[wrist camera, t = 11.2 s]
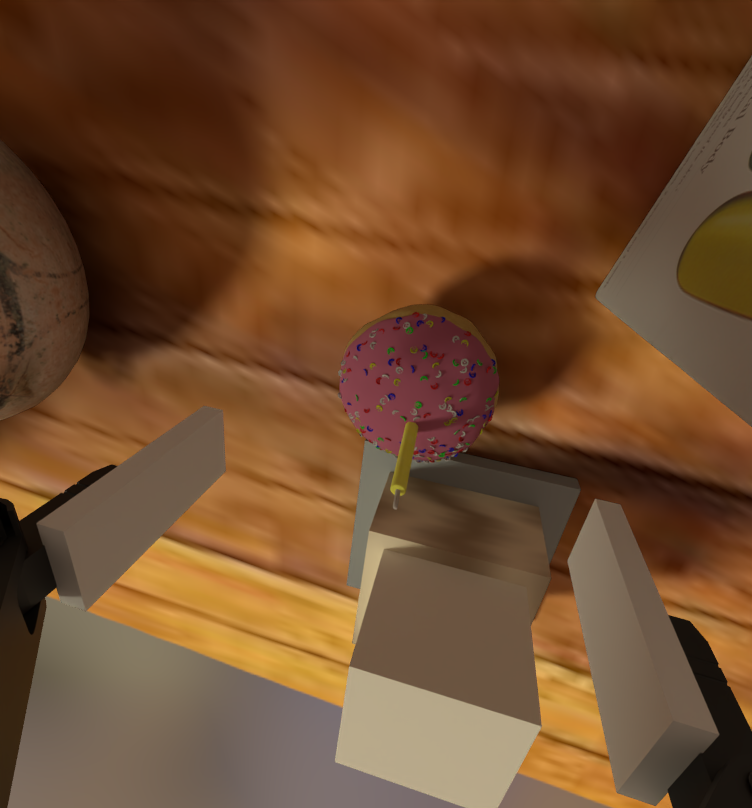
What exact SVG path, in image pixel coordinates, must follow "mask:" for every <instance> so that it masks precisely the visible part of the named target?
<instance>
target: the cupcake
mask: <svg viewBox="0 0 752 808" xmlns="http://www.w3.org/2000/svg"><path fill="white" fill-rule="evenodd" d="M341 365H342V366H341V370H339V376H340V393H338V396H339V398H341V399H342V402H343V405H344V407H345V412H347V414H348V416H349V418H350V419H351V421H352V423H353V424H354V426H355V427H356V428H357V429H356V430H357V432H358V433H360V436H361V437H362V435H363V436H364V437H365V438H366V439H367V440H368V441H369V442H370V443H372V444H373V445H374V446H375V447H376V448H377V449H379V450H383V451H384V452H386V453H391V454H393V456H394V457H395V458H397V463H396V467H395V471H394V475H393V479H392V483H391V488H390V490H391V492H392V493H393V494H394V495H395V497H394V502H393V508H394V509H395V510H396V509H397V508H398V503H399V498H400V496H402V495H404V494H405V492H406V488H407V483H408V478H409V473H410V468H411V463H412V459H413V460H415V462H416V463H421V462H423V461H424V462H425V463H429V461H430V462H432V463H434V462H435V461H434V460H436V461H437V462H439V461H441V460H442V459H443V458H445V461H449V460H450V459H451V456H452V457H453V456H454V457H456V456H458V453H459V452H461V451H463V452H466V451H467V450H468V448H469V447H470V446H471V445H472V443H473V442H474V441H475V440H476V438H477V437H478V436H479V434H482V430H483V429H484V428H485V426H486V425H487V423H488V422H489V421H491V419H492V415H493V413H494V410H495V407H496V405H497V402H498V396H499V375H498V371H497V361H496V357H495V354H494V353H493V351H492V349H491V348H490V346H489V345H488V344H487V342H486V341H485V340H484V338H483V337H482V335H481V334H480V332H479V331H478V329H477V328H476V327H475V326H474V325H473V324H472V323H471V322H470V321H469V320H468V319H466V318H464V317H462V316H460V315H457V314H455V313H453V312H451V311H449V310H447V309H444V308H442V307H439V306H436V305H430V304H419V305H411V306H407V307H403V308H400V309H397V310H394V311H392V312H390V313H388V314H386V315H384V316H382V317H380V318H378V319H376V320H374V321H372V322H369V323H367V324H365V325H364V326H363V327H362V328H361V329H360V330H359V331H358V332H357V333H356V334H355V335H354V336H353V337H352V339H351V340H350V341H349V343H348V345H347V347H346V349H345V352H344V357H343V361H342V362H341ZM340 373H341V375H340ZM465 449H466V450H465ZM446 458H447V459H448V460H447V459H446ZM417 460H418V462H417ZM426 461H427V462H426Z"/></svg>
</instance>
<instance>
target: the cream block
mask: <svg viewBox="0 0 752 808" xmlns="http://www.w3.org/2000/svg"><path fill="white" fill-rule="evenodd" d="M541 727H542V725H541V716H540V707H539V697H538V688H537V679H536V670H535V661H534V651H533V642H532V633H531V624H530V615H529V605H528V596H527V587H525V586H521V585H517V584H514V583H510V582H506V581H502V580H499V579H495V578H491V577H487V576H484V575H480V574H476V573H472V572H469V571H465V570H461V569H457V568H454V567H450V566H446V565H442V564H439V563H435V562H431V561H427V560H424V559H420V558H416V557H412V556H409V555H405V554H401V553H397V552H394V551H390V550H386V549H384V550H383V553H382V557H381V560H380V563H379V567H378V570H377V574H376V577H375V580H374V584H373V587H372V591H371V594H370V598H369V601H368V604H367V608H366V611H365V615H364V618H363V621H362V625H361V628H360V632H359V635H358V638H357V642H356V645H355V649H354V652H353V656H352V659H351V662H350V666H349V672H348V678H347V685H346V692H345V698H344V705H343V711H342V718H341V725H340V732H339V738H338V744H337V751H336V757H335V762H337V763H340V764H342V765H345V766H348V767H351V768H354V769H357V770H360V771H362V772H365V773H368V774H371V775H374V776H377V777H380V778H383V779H385V780H388V781H391V782H394V783H397V784H400V785H402V786H405V787H408V788H411V789H414V790H417V791H420V792H423V793H425V794H428V795H431V796H434V797H437V798H440V799H443V800H445V801H448V802H451V803H454V804H457V805H460V806H462V807H465V808H498V806H499V804H500V803H501V801H502V799H503V797H504V795H505V793H506V792H507V790H508V788H509V786H510V784H511V782H512V781H513V779H514V777H515V775H516V773H517V771H518V769H519V768H520V766H521V764H522V762H523V760H524V758H525V756H526V755H527V753H528V751H529V749H530V747H531V745H532V743H533V742H534V740H535V738H536V736H537V734H538V732H539V731H540V729H541Z"/></svg>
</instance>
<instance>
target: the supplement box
mask: <svg viewBox="0 0 752 808" xmlns="http://www.w3.org/2000/svg"><path fill="white" fill-rule="evenodd" d="M595 297H596V299H597V300H598V301H599V302H600V303H602V304H603V305H604V306H606V307H607V308H608V309H609V310H610V311H611V312H612V313H613V314H615V315H616V316H617V317H618V318H619V319H621V320H622V321H623V322H624V323H626V324H627V325H628V326H629V327H630V328H632V329H633V330H634V331H635V332H636V333H638V334H639V335H640V336H641V337H642V338H644V339H645V340H646V341H647V342H649V343H650V344H651V345H652V346H654V347H655V348H656V349H657V350H659V351H660V352H661V353H662V354H664V355H665V356H666V357H667V358H669V359H670V360H671V361H672V362H674V363H675V364H676V365H677V366H678V367H680V368H681V369H682V370H683V371H684V372H686V373H687V374H688V375H689V376H690V377H692V378H693V379H694V380H695V381H696V382H698V383H699V384H700V385H701V386H702V387H704V388H705V389H706V390H707V391H708V392H710V393H711V394H712V395H713V396H715V397H716V398H717V399H718V400H719V401H721V402H722V403H723V404H724V405H726V406H727V407H728V408H729V409H731V410H732V411H733V412H734V413H735V414H737V415H738V416H739V417H740V418H742V419H743V420H744V421H745V422H746V423H748V424H749V425H750V426H751V427H752V57H751V58H750V60H749V61H748V63H747V64H746V66H745V67H744V69H743V70H742V72H741V73H740V75H739V76H738V78H737V79H736V81H735V82H734V84H733V85H732V87H731V88H730V90H729V91H728V93H727V94H726V96H725V97H724V99H723V100H722V102H721V103H720V105H719V106H718V108H717V109H716V111H715V112H714V114H713V116H712V117H711V119H710V120H709V122H708V123H707V125H706V126H705V128H704V129H703V131H702V132H701V134H700V135H699V137H698V138H697V140H696V141H695V143H694V145H693V146H692V148H691V149H690V151H689V152H688V154H687V155H686V157H685V158H684V160H683V161H682V163H681V164H680V166H679V167H678V169H677V170H676V172H675V173H674V175H673V177H672V178H671V180H670V181H669V183H668V184H667V186H666V187H665V189H664V190H663V192H662V193H661V195H660V196H659V198H658V199H657V201H656V202H655V204H654V205H653V207H652V208H651V210H650V211H649V213H648V215H647V216H646V218H645V219H644V221H643V222H642V224H641V225H640V227H639V228H638V230H637V231H636V233H635V234H634V236H633V237H632V239H631V240H630V242H629V243H628V245H627V246H626V248H625V249H624V251H623V253H622V254H621V256H620V257H619V259H618V260H617V262H616V263H615V265H614V266H613V268H612V269H611V271H610V272H609V274H608V275H607V277H606V278H605V280H604V281H603V283H602V284H601V286H600V287H599V289H598V291H597V292H596V296H595Z"/></svg>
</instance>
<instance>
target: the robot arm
mask: <svg viewBox="0 0 752 808" xmlns="http://www.w3.org/2000/svg"><path fill="white" fill-rule="evenodd" d="M225 471H226V467H225V446H224V425H223V410H220V409H216V408H211V407H207V406H203V407H202V408H200V409H199V410H197V411H196V412H195V413H193V414H192V415H190V416H189V417H187V418H186V419H185V420H183V421H182V422H180V423H179V424H177V425H176V426H175V427H173V428H172V429H170V430H169V431H167V432H166V433H165V434H163V435H162V436H160V437H159V438H157V439H156V440H155V441H153V442H152V443H150V444H149V445H147V446H146V447H145V448H143V449H142V450H140V451H139V452H137V453H136V454H135V455H133V456H132V457H130V458H129V459H127V460H126V461H125V462H123V463H122V464H120V465H119V466H115V465H109V466H107V467H104V468H101V469H99V470H96V471H94V472H92V473H90V474H89V475H87V476H86V477H84V478H83V479H81V480H80V481H78V482H77V484H76V485H75V484H74V485H72V486H71V487H69V488H68V489H66V490H65V492H64V493H60V494H59V495H58V496H56V497H55V498H53V499H52V500H50V501H49V502H47V503H46V504H44V505H43V506H41V507H40V508H38V509H37V510H35V511H34V512H32V513H31V514H29V515H28V516H26V517H25V518H23V519H22V520H20V521H19V519H18V516H17V513H16V511H15V508H14V505H13V503H12V502H10V501H9V500H7V499H2V498H0V808H7V806H8V801H9V796H10V791H11V786H12V781H13V776H14V770H15V765H16V760H17V755H18V750H19V745H20V739H21V735H22V729H23V724H24V719H25V714H26V709H27V703H28V699H29V693H30V688H31V684H32V678H33V673H34V668H35V663H36V658H37V653H38V648H39V642H40V638H41V632H42V627H43V622H44V617H45V612H46V600H45V597H46V596H47V595H48V594H49V593H50V592H51V591H53V590H54V589H55V588H57V591H58V594H59V598H60V601H61V603H63V604H66V605H69V606H72V607H75V608H78V609H81V610H84V611H87V610H88V609H89V608H90V607H91V606H92V605H93V604H94V603H95V602H96V601H97V600H98V599H99V598H100V597H101V596H102V595H103V594H104V593H105V592H106V591H107V590H108V589H109V588H110V587H111V586H112V585H113V584H114V583H115V582H116V581H117V580H118V579H119V578H120V577H121V576H122V575H123V574H124V573H125V572H126V571H127V570H128V569H129V568H130V567H131V566H132V565H133V564H134V563H135V562H136V561H137V560H138V558H139V557H140V556H141V555H142V554H143V553H144V552H145V551H146V550H147V549H148V548H149V547H150V546H151V545H152V544H153V543H154V542H155V541H156V540H157V539H158V538H159V537H160V536H161V535H162V534H163V533H164V532H165V531H166V530H167V529H168V528H169V527H170V526H171V525H172V524H173V523H174V522H175V521H176V520H177V519H178V518H179V517H180V516H181V515H182V514H183V513H184V512H185V511H186V510H187V509H188V508H189V507H190V506H191V505H192V504H193V503H194V502H195V501H196V500H197V499H198V498H199V497H200V496H201V495H202V494H203V493H204V492H205V491H206V490H207V489H208V488H209V487H210V486H211V485H212V484H213V483H214V482H215V481H216V480H217V479H218V478H219V477H220V476H221V475H222V474H223V473H224V472H225ZM568 566H569V571H570V575H571V580H572V585H573V589H574V594H575V599H576V603H577V608H578V613H579V618H580V622H581V627H582V632H583V636H584V641H585V646H586V651H587V655H588V660H589V665H590V669H591V674H592V679H593V683H594V688H595V693H596V698H597V702H598V707H599V712H600V716H601V721H602V726H603V730H604V735H605V740H606V745H607V749H608V754H609V759H610V763H611V768H612V773H613V777H614V782H615V787H616V792H617V793H619V794H622V795H625V796H628V797H631V798H634V799H637V800H639V801H642V802H645V803H648V804H651V805H654V806H656V805H657V804H658V803H659V802H660V801H661V799H662V798H663V797H664V796H665V795H666V794H667V793H669V796H670V800H671V803H672V806H673V808H752V731H751V729H750V727H749V725H748V723H747V721H746V719H745V717H744V715H743V713H742V711H741V708H740V706H739V704H738V702H737V700H736V698H735V696H734V694H733V692H732V690H731V688H730V687H729V686H727V680H726V678H725V676H724V674H723V672H722V670H721V668H719V667H718V662H717V660H716V658H715V656H714V654H713V652H712V650H711V648H710V646H709V644H708V642H707V641H706V639H705V638H704V637H703V636H702V635H701V634H700V633H699V631H698V630H697V629H696V628H695V627H694V626H693V624H692V623H691V622H690V621H688V620H684V619H681V618H677V617H673V616H670V615H668V614H667V611H666V609H665V607H664V604H663V602H662V600H661V597H660V595H659V593H658V590H657V588H656V586H655V583H654V581H653V579H652V577H651V574H650V572H649V570H648V567H647V565H646V563H645V560H644V558H643V556H642V553H641V551H640V549H639V546H638V544H637V542H636V539H635V537H634V535H633V532H632V530H631V528H630V525H629V523H628V521H627V518H626V516H625V514H624V511H623V509H622V507H621V505H620V504H616V503H612V502H608V501H603V500H599V499H595V500H594V502H593V505H592V507H591V509H590V511H589V514H588V516H587V518H586V520H585V523H584V525H583V527H582V529H581V532H580V534H579V536H578V538H577V540H576V543H575V545H574V547H573V549H572V552H571V554H570V556H569V558H568Z"/></svg>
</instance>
